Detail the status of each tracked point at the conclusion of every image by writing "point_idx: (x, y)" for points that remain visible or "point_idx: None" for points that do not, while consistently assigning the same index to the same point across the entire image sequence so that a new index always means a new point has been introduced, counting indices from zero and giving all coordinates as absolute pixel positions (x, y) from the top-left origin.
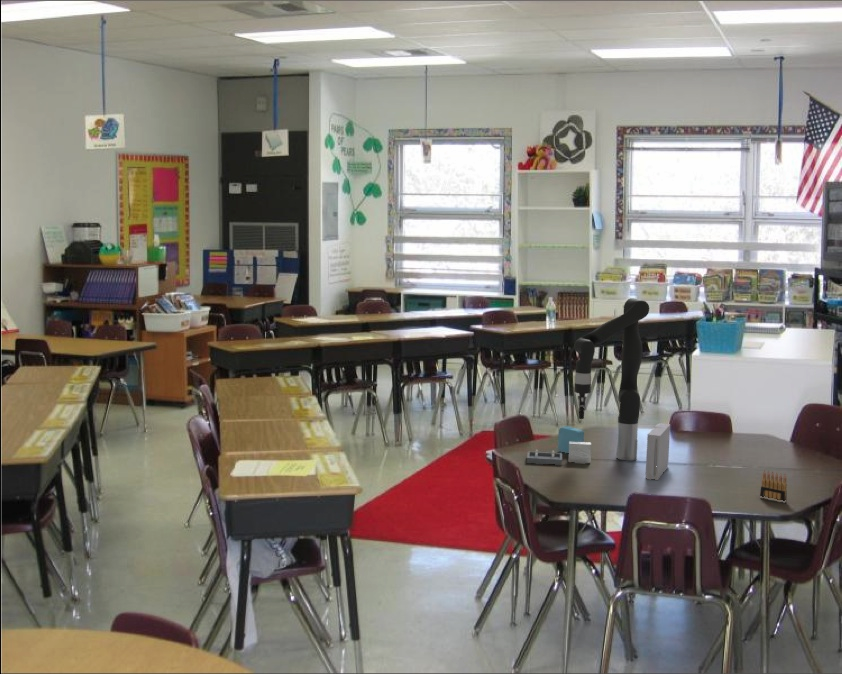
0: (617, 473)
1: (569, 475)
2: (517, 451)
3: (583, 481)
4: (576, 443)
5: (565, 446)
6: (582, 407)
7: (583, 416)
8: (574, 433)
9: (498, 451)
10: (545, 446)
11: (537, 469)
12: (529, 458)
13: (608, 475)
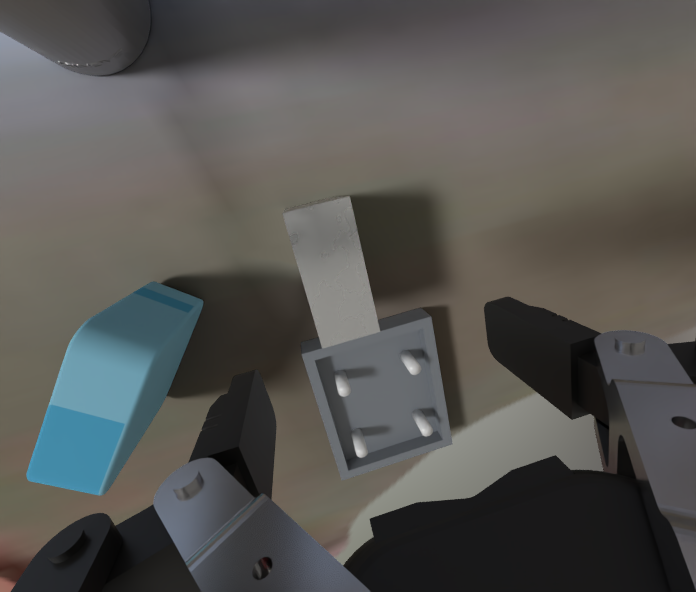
0: (478, 10)
1: (570, 233)
2: None
3: (650, 154)
4: (356, 294)
5: (168, 380)
6: (239, 473)
7: (525, 310)
8: (154, 373)
9: None
10: None
11: None
12: (450, 434)
13: (530, 56)
